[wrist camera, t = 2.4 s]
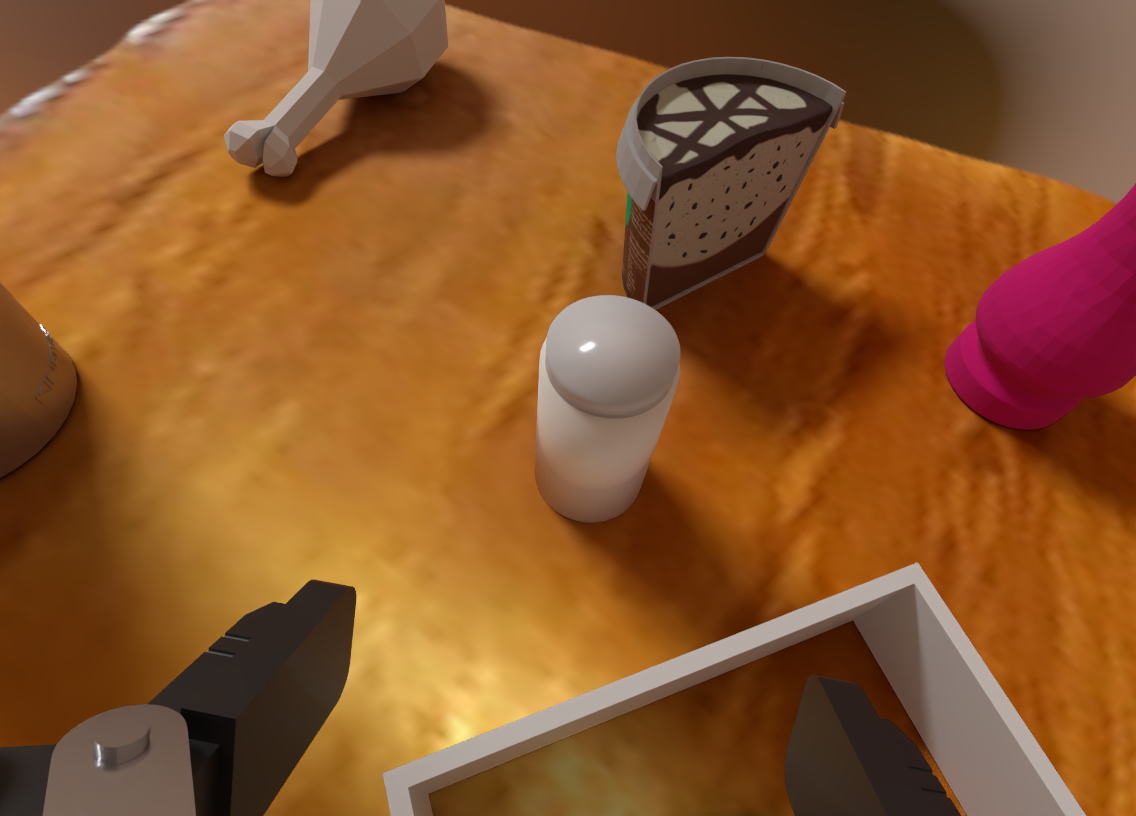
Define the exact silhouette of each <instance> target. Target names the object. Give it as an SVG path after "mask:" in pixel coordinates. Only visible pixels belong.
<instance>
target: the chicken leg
mask: <svg viewBox="0 0 1136 816" xmlns="http://www.w3.org/2000/svg"><path fill="white" fill-rule="evenodd" d="M447 47H448V37H447V25H446V12H445V1H444V0H311V5H310V34H309V62H308V73H307V74H306V75H305V76H304V77H303V78H302V79H301V80H300V81H299V82H298V83H297V85H296V86H295V87H294V88H293V89H292V90H291V91H290V92H289V93H288V94H287V95H286V96H285V98H284V99H283V100H282V101H281V102H280V103H279V104H278V105H277V106H276V107H275V108H274V110H273V111H272V112H271V113H270V114H269V115H268V116H267V117H266V118H265V119H264V120H253V121H237V122H236V123H235V124H234V125H232V126H231V127H230V129H229V130H228V131H227V132H226V133H225V134H224V138H225V142H226V146H227V151H228V152H229V154H230V155H231V157H232V158H233V159H234V160H236V161H237V162H238V163H240V164H244V165H247V166H250V167H254V168H256V167H257V166H259V165H260V164H262V163H263V165H264V170H265V173H267V174H269V175H271V176H279V177H287V176H289V175H290V174H292V172H293V170H294V168H295V166H296V164H297V161H298V160H297V156H296V151H295V148H296V147H297V146H298V145H299V144H300V142H301V141H302V140H303V139H304V138H305V137H306V136H307V134H308V133H309V132H310V131H311V130H312V129H313V128H314V127H315V125H316V124H317V123H318V122H319V121H320V120H321V119H322V117H323V116H324V115H325V114H326V113H327V112H328V111H329V109H330V108H331V107H332V106H333V105H334V104H335V103H336V101H337V100H341V99H350V98H359V97H367V96H376V95H385V94H394V93H401V92H404V91H405V90H407V89H408V88H409V87H411V86H412V85H414V84H415V83H416V82H418V81H419V80H421V79H422V78H423V77H424V76H425V75H426V74H427V72H428V71H429V70H430V69H431V67H432V66H433V65H434V64H435V62H436V61H437V60H438V59H439V57H440V56H441V55H442V54H443V52H444V51H445V50H446V48H447Z"/></svg>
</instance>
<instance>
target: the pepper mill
mask: <svg viewBox="0 0 1136 816" xmlns="http://www.w3.org/2000/svg"><path fill="white" fill-rule="evenodd" d="M945 370H946V376H947V378H948V380H949V382H950V384H951V386H952V388H953V389H954V390H955V392H956V393H957V395H958V396H959V397H960V398H961V399H962V400H963V401H964V402H965V403H966V404H967V405H968V406H969V407H970V408H971V409H972V410H973V411H975V412H977V413H978V414H980V415H982V416H983V417H985V418H987V419H988V420H990V421H992V422H994V423H997V424H1000V425H1003V426H1006V427H1009V428H1015V429H1022V430H1034V429H1039V428H1044V427H1047V426H1049V425H1051V424H1053V423H1055V422H1056V421H1057V420H1059V419H1060V418H1061V417H1063V416H1064V415H1065V414H1067V413H1068V412H1069V411H1071V410H1072V409H1074V408H1075V407H1076V406H1077V405H1078V404H1079V403H1080V402H1081V401H1082V399H1083V398H1090V397H1097V396H1102V395H1105V394H1108V393H1111V392H1113V391H1115V390H1117V389H1119V388H1121V387H1123V386H1124V385H1125V384H1126V383H1128V382H1129V381H1130V380H1131V379H1132V378H1133V377H1134V376H1135V375H1136V184H1135V185H1134V186H1133V187H1132V188H1131V190H1130V191H1129V192H1128V194H1127V195H1126V196H1125V197H1124V198H1123V199H1122V200H1121V201H1120V202H1119V203H1118V204H1116V205H1115V206H1114V207H1113V208H1112V209H1111V210H1110V211H1109V212H1108V213H1106V214H1105V215H1104V216H1103V217H1102V218H1101V219H1100V220H1099V221H1098V222H1096V223H1095V224H1093V225H1092V226H1090V227H1089V228H1088V229H1086V230H1085V231H1083V232H1082V233H1080V234H1078V235H1076V236H1074V237H1072V238H1070V239H1068V240H1066V241H1064V242H1062V243H1059V244H1057V245H1055V246H1052V247H1050V248H1047V249H1045V250H1043V251H1041V252H1039V253H1036V254H1034V255H1032V256H1030V257H1028V258H1027V259H1025V260H1023V261H1022V262H1020V263H1018V264H1017V265H1015V266H1013V267H1012V268H1010V269H1009V270H1007V271H1006V272H1004V273H1003V274H1002V275H1001V276H1000V277H999V278H998V279H997V280H996V281H995V282H994V283H993V284H992V285H991V286H990V287H989V288H988V289H987V290H986V291H985V292H984V294H983V296H982V297H981V299H980V301H979V304H978V307H977V310H976V321H974V322H972V323H971V324H970V325H969V326H968V327H967V328H966V329H965V330H964V331H963V332H962V333H961V334H960V335H959V336H958V338H957V339H956V340H955V341H954V342H953V343H952V344H951V345H950V347H949V348H948V350H947V353H946V356H945Z"/></svg>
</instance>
